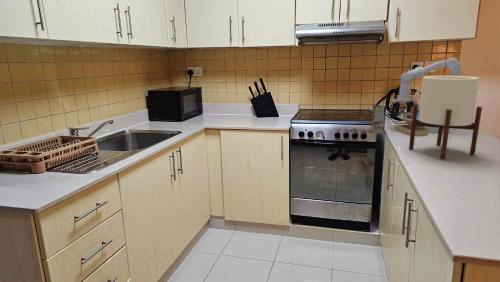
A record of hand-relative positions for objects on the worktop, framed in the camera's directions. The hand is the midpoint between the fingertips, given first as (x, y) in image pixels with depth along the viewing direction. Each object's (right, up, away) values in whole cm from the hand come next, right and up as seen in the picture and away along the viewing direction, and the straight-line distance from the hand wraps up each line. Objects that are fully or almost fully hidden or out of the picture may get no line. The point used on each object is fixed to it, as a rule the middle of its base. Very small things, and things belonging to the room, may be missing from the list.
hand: (402, 113), depth 217 cm
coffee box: (-18, -12, -7) cm, 23 cm away
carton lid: (+1, -7, -11) cm, 13 cm away
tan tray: (0, -12, -9) cm, 15 cm away
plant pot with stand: (-4, -23, -51) cm, 56 cm away
